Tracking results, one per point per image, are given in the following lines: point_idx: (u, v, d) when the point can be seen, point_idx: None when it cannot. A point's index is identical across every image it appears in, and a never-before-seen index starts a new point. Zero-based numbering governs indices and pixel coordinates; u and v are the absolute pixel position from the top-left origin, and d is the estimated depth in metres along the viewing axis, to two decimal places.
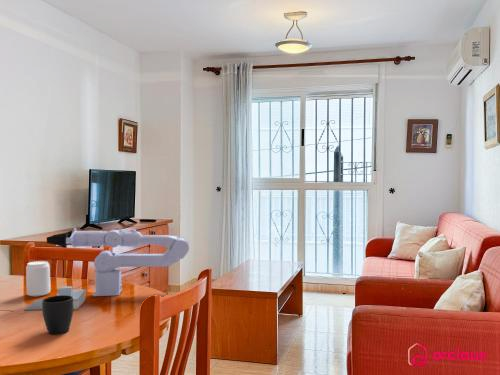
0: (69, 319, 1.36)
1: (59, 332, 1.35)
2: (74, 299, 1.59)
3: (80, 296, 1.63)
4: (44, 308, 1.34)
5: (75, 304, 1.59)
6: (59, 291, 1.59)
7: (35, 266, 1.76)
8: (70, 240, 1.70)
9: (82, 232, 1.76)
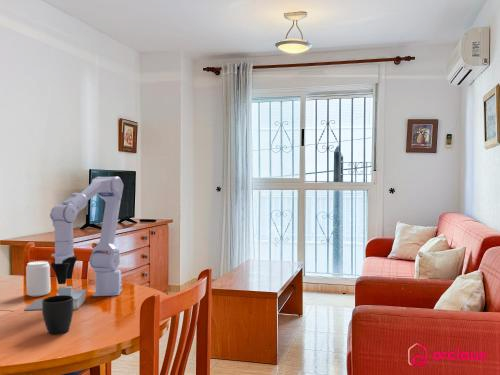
0: (69, 319, 1.36)
1: (59, 332, 1.35)
2: (74, 299, 1.59)
3: (80, 296, 1.63)
4: (44, 308, 1.34)
5: (75, 304, 1.59)
6: (59, 291, 1.59)
7: (35, 266, 1.76)
8: (57, 258, 1.52)
9: (55, 246, 1.57)
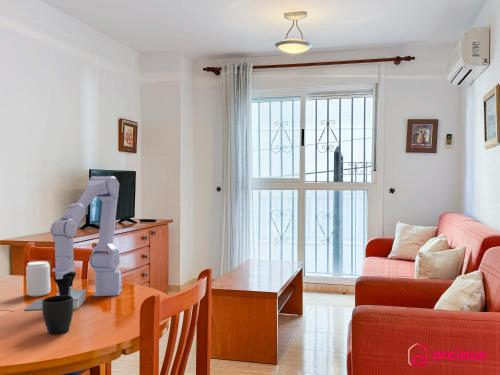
0: (69, 319, 1.36)
1: (59, 332, 1.35)
2: (74, 299, 1.59)
3: (80, 296, 1.63)
4: (44, 308, 1.34)
5: (75, 304, 1.59)
6: None
7: (35, 266, 1.76)
8: (58, 274, 1.52)
9: (56, 261, 1.58)
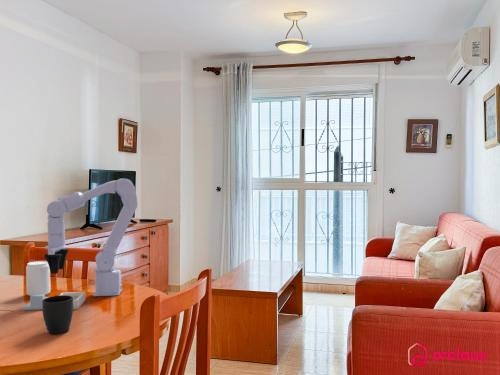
0: (69, 319, 1.36)
1: (59, 332, 1.35)
2: None
3: None
4: (44, 308, 1.34)
5: (75, 304, 1.59)
6: (31, 299, 1.59)
7: (35, 266, 1.76)
8: (50, 250, 1.66)
9: (48, 239, 1.71)
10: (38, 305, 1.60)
